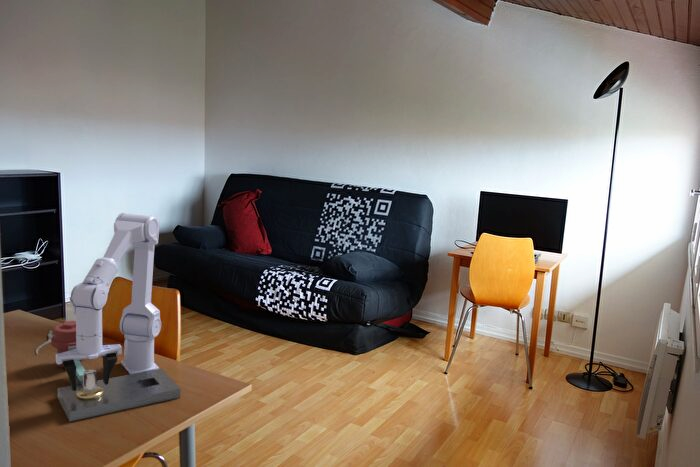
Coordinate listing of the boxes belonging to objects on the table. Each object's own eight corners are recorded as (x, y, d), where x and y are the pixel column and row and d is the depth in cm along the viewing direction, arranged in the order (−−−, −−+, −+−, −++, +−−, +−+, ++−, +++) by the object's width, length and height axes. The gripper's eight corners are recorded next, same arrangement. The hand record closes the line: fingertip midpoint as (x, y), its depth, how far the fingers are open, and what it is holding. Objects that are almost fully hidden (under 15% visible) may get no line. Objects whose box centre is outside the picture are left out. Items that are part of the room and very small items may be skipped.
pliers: (37, 355, 170) (26, 333, 186) (37, 358, 170) (27, 335, 186) (73, 350, 175) (60, 328, 191) (73, 353, 176) (60, 331, 191)
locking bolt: (68, 363, 158) (68, 346, 157) (78, 362, 160) (77, 345, 159) (78, 381, 149) (78, 362, 148) (89, 379, 150) (88, 360, 149)
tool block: (52, 386, 152) (51, 374, 152) (153, 367, 168) (153, 356, 167) (69, 422, 136) (69, 408, 135) (180, 397, 151) (180, 385, 151)
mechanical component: (76, 355, 173) (98, 364, 168) (43, 366, 164) (66, 375, 159) (75, 314, 171) (98, 322, 166) (42, 323, 162) (65, 331, 157)
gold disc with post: (74, 400, 145) (73, 370, 144) (100, 395, 149) (99, 365, 148) (79, 410, 141) (79, 379, 139) (106, 405, 144) (106, 374, 143)
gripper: (59, 343, 134) (60, 399, 137) (125, 333, 143) (125, 386, 145) (53, 333, 140) (54, 387, 142) (117, 324, 148) (117, 375, 151)
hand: (89, 386), depth 144 cm, fingers open, 7 cm apart
